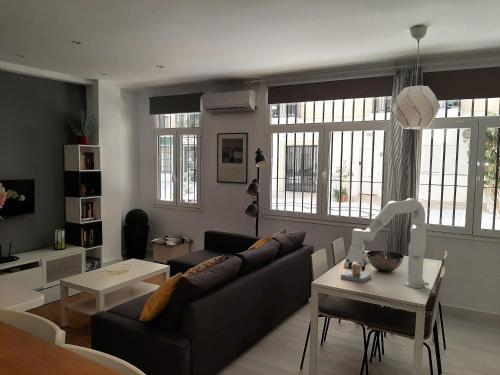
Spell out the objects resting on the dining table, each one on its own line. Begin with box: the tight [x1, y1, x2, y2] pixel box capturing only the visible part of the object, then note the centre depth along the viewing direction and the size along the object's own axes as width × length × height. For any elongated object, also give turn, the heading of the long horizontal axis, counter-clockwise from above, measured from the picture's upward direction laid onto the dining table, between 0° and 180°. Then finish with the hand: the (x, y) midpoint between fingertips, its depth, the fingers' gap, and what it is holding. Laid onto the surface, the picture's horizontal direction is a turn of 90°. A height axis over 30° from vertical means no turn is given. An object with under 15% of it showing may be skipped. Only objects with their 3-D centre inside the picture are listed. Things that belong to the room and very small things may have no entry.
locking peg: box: [352, 263, 361, 276], centre depth 281 cm, size 4×4×10 cm
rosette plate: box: [340, 269, 372, 284], centre depth 281 cm, size 16×16×3 cm
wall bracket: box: [343, 243, 368, 269], centre depth 320 cm, size 22×4×30 cm
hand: (356, 269), depth 280 cm, fingers open, 9 cm apart
